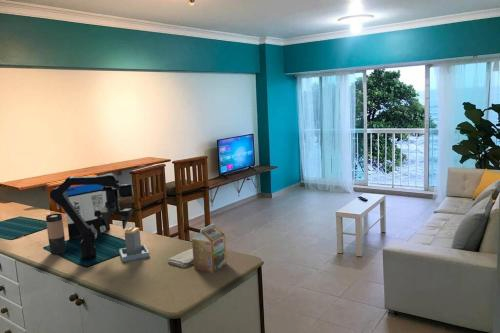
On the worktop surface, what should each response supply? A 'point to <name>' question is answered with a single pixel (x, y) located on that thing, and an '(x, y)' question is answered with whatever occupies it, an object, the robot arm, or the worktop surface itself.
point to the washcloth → (182, 259)
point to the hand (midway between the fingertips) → (115, 229)
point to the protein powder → (86, 207)
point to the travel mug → (55, 233)
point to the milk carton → (209, 249)
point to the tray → (136, 256)
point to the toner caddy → (132, 241)
